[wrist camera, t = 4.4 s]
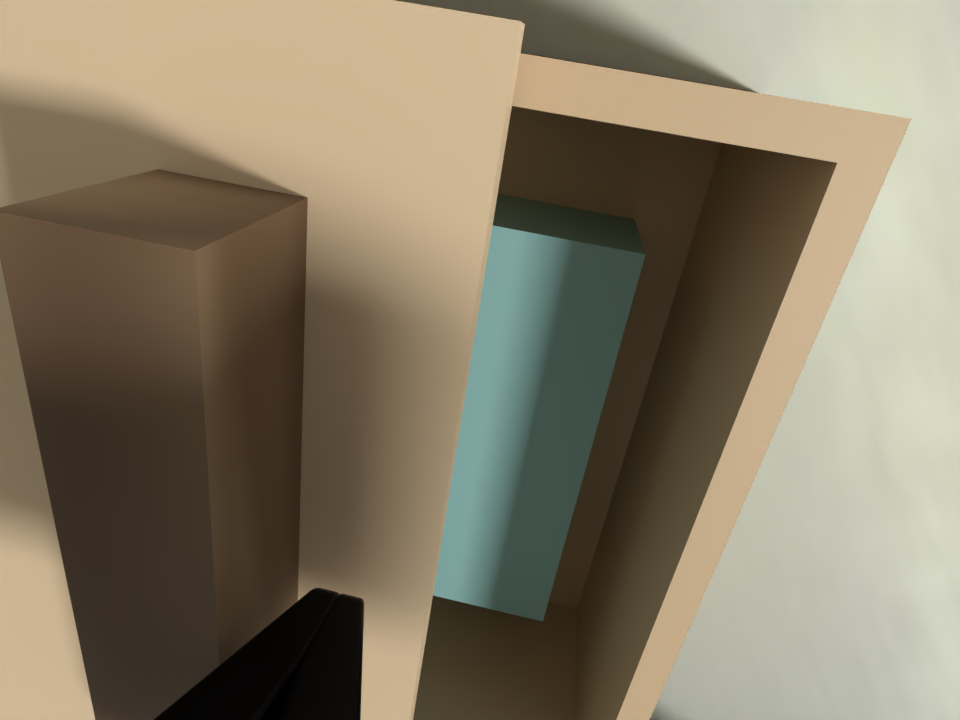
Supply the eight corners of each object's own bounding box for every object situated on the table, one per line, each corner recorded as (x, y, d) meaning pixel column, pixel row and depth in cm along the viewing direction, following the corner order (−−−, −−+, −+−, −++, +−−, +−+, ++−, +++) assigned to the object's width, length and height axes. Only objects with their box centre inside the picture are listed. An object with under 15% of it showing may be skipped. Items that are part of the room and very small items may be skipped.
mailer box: (760, 93, 13) (911, 119, 7) (591, 611, 21) (593, 849, 14) (-79, -48, 15) (-560, -129, 9) (35, 481, 22) (-183, 645, 16)
